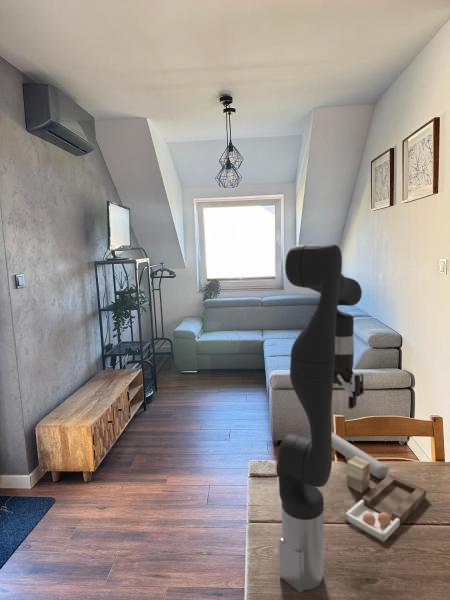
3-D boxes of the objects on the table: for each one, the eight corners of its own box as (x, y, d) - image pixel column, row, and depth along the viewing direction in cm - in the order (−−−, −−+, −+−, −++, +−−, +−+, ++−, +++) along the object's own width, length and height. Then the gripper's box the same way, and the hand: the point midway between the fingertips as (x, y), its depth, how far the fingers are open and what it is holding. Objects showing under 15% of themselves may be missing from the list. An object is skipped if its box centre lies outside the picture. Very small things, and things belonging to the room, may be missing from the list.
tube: (393, 466, 126) (337, 432, 148) (382, 465, 124) (327, 431, 146) (388, 482, 126) (333, 446, 148) (377, 482, 124) (323, 445, 146)
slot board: (399, 525, 106) (400, 516, 106) (362, 505, 115) (362, 497, 114) (425, 498, 117) (426, 490, 116) (389, 481, 125) (389, 474, 125)
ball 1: (370, 529, 104) (375, 517, 104) (358, 521, 106) (363, 510, 106) (374, 529, 106) (379, 517, 106) (363, 521, 108) (367, 510, 108)
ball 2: (378, 528, 105) (391, 529, 105) (380, 519, 104) (392, 520, 104) (376, 517, 108) (388, 519, 108) (377, 508, 107) (390, 510, 107)
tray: (383, 542, 101) (383, 535, 100) (345, 520, 109) (345, 513, 109) (399, 525, 106) (399, 518, 106) (361, 505, 114) (361, 499, 114)
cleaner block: (361, 492, 120) (362, 468, 119) (346, 485, 124) (347, 461, 123) (369, 486, 123) (370, 462, 122) (354, 479, 127) (355, 455, 125)
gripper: (311, 347, 118) (310, 400, 120) (354, 357, 107) (353, 415, 109) (326, 343, 122) (325, 393, 125) (369, 352, 112) (367, 407, 114)
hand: (338, 403), depth 117 cm, fingers open, 8 cm apart
